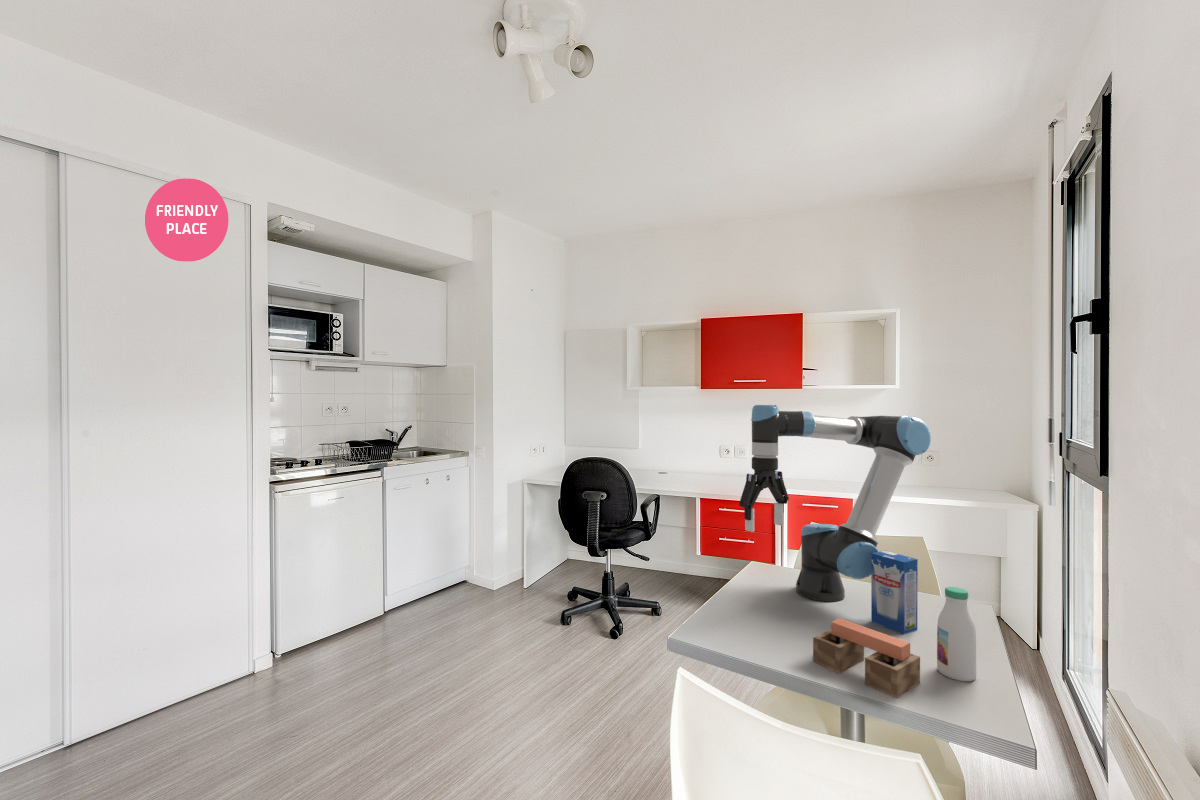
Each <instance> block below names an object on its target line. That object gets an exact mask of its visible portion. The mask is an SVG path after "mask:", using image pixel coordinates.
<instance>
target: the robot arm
mask: <svg viewBox="0 0 1200 800" xmlns="http://www.w3.org/2000/svg"><path fill="white" fill-rule="evenodd" d="M751 410H752V411H751V419H750V421H751V455H752V457H751V469H752V470H754V473H753V474H751V473H747V474H746V479H745V484H744V486H743V490H742V493H741V497H740V500H739V502H738V506H739V507H741V508H743V511H744V518H743V519H744V520H745V521H744V527H745V528H744V529H745V531H747V532H751V533H754V532H755V508H753V507H754V506H755V504H756V501H757V499H758V497H759V496H760V493H761V492H762V491H763V490H764V489H766V488H768V490H769V491H770V493H771V495H772V497H773V498H774V500H775V502H774V503H773V506H774V507H773V509H774V510H773V511H774V512H773V514H774V516H773V518H774V519H773V522H774V523H773V524H774V525H776V526H784V512H785V506H784V505H787V504H788V501H789V499H790V498H789V495H788V492H787V488H786V485H785V482H784V480H783V472H782V471H779V470H778V469H779V458H778V456H779V437H800V438H801V437H803V438H813V439H823V440H824V439H825V440H835V441H844V442H846V443H847V444H848V445H855V446H862V447H863V448H864V447H865V448H868V449H869V448H870V449H873V451H874V453H875V457H874V460H873V462H872V464H871V467H870V468H869V471H868V473H867V476H866V478H865V480H864V482H863V485H862V487H861V488H860V489H861V490H860V491H859V493H858V497H856V501H855V502H854V505H853V507H852V510H851V511H850V515H849V516H848V519H847V521H846V522H845V523H842V524H841V523H840V524H839V526H838V525H836V524H830V523H813V524H812V523H811V524H810V523H809V524H805V525H803V526H802V528H801V535H800V537H801V539H800V541H801V568H800V572H799V575H798V577H797V579H796V583H795V592H796V593H797V594H799V596H802V597H803V598H806V599H809V600H814V601H818V602H819V601H821V602H839V601H842V600H844V599H845V597H846V593H845V587H844V584H843V582H842V579H841V575H843V576H845V577H847V578H851V579H855V580H863V579H866V578H869V577H870V576H871V555H872V554H871V553H875V552H879V549H878V548H877V545H878V544H879V542H878V539H877V536H876V534H877V533H878V529H879V528H880V526H881V522H882V520H883V518H884V516H885V513H886V512H887V509H888V507H889V504H890V502H891V499H892V497H893V495H894V493H895V490H896V488H897V485H898V483H899V481H900V478H901V476H902V474H903V471H904V469H905V468H906V467H907V466H909V465H912V464H913V462H914V460H915V458H916V456H919V455H923V453H926V452H927V451H928V449H929V447H930V445H931V438H932V437H931V432H930V431H929V427H928V425H927V424H926V422H924V421H923V420H922V419H921V418H918V417H915V416H907V415H903V416H901V415H900V416H899V415H898V416H894V415H892V416H891V415H872V416H871V415H870V416H855V415H854V416H849V417H848V418H844V417H836V416H834V417H833V416H826V415H816V414H815V415H814V414H813V413H812V412H810V411H803V410H800V411H799V410H798V411H796V410H795V411H794V410H793V411H792V410H791V411H790V410H779V407H778V405H776V404H755V405H753V406H752V408H751ZM840 574H841V575H840Z"/></svg>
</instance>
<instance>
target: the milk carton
mask: <svg viewBox="0 0 1200 800" xmlns="http://www.w3.org/2000/svg"><path fill="white" fill-rule="evenodd" d="M871 554H872V555H871V575H870V576H871V580H870V582H871V587H870V588H871V591H870V592H871V597H870V598H871V599H870V600H871V602H870V603H871V607H870V608H871V609H870V610H871V611H870V613H871V614H870V615H871V616H870V617H871V622H872V623H874V624H878V625H879V626H882V627H885V628H888V629H889V630H892V631H894V632H897V633H899V634H902V635H906V634H909V633H912V632H916V631H918V591H919V590H918V585H919V583H918V581H919V579H918V567H919V566H918V560H919V559H917V558H914V557H911V556H906V555H903V554H899V553H896V552H892V551H888V550H882V551H878V552H875V553H871Z"/></svg>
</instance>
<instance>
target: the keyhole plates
mask: <svg viewBox="0 0 1200 800" xmlns="http://www.w3.org/2000/svg"><path fill="white" fill-rule="evenodd" d="M812 639H813V640H812V646H813V647H812V662H813V663H815V664H818V665H820V666H822V667H824V668H827V669H829V670H832V671H833V672H836V673H838V674H841V673H843V672H845V671H847V670H849V669H851V668H853V667H855V666H857V665H858V664H861V663H862V662H864V685H866V686H868V687H871V688H872V689H874V690H877V691H879V692H881V693H883V694H886V695H888V696H891V697H892V698H896V699H898V698H900V697H902V696H903V695H904V694H906V693H908V692H909V691H910V690H912V689H914V688H916V686H919V685H920V684H921V656H919V655H916V654H913V653H911V652H910V656H909V657H908V658H906V659H904V660H902V661H901V660H898V665H896V666H894V667H893V666H891V664H893V657H890V656H888V655H885V654H882V653H880V652H877V651H875V652H873V653H872V654H870V655H868V656H866V657H865V647H864V646H862V645H859V644H856V643H854V642H851V641H848V640H846V639H844V642H843V643H841V644H840V637H838V636H835V635H833V634H831V629H828V630H827V631H824V632H821V633H820V634H817V635H815V636H813V638H812Z"/></svg>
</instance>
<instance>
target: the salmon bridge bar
mask: <svg viewBox="0 0 1200 800" xmlns="http://www.w3.org/2000/svg"><path fill="white" fill-rule="evenodd" d="M830 624H831V625H830V630H831V634H833V635H835V636H838V637H840V644H841V643H843V642H844V639H846V640H848V641H851V642H854V643H856V644H859V645H862V646H864V648H867V649H870V650H873V651H875V652H880V653H882V654H885V655H888V656H890V657H893V664H891V666H893V667H894V666H896V665H898V660H901V661H902V660H904V659H906V658H908V657H909V656H910V653H911V642H908V641H906V640H903V639H900V638H898V637H894V636H891V635H889V634H886V633H884V632H880V631H878V630H875V629H872V628H869V627H867V626H866V627H865V626H862V625H861V624H858V623H854V622H852V621H849V620H846V619H843V618H840V617H839V618H838V619H835V620H832V621H830Z"/></svg>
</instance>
